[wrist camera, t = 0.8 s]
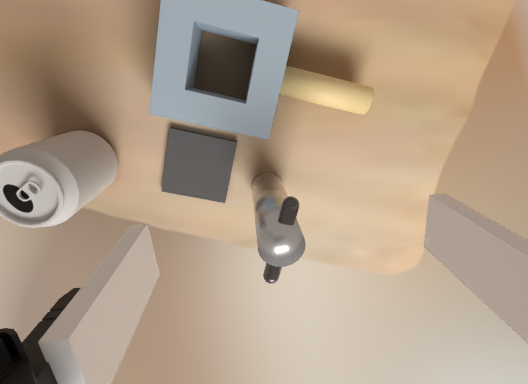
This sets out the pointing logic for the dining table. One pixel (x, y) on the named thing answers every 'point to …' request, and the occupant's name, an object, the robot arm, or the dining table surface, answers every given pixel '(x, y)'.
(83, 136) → the can
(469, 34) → the dining table surface
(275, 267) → the silver tall rounded piece
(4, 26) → the dining table surface
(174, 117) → the block
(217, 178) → the mat
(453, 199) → the robot arm
